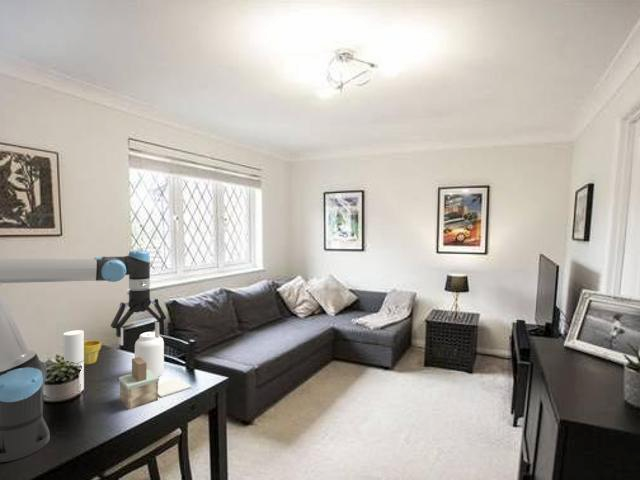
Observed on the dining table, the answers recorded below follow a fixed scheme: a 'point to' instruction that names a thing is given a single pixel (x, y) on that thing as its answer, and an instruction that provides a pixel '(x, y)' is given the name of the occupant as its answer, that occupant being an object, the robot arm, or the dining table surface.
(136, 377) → the lid
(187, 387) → the felt mat
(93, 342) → the plant pot
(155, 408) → the dining table surface
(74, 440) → the dining table surface
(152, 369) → the white jar
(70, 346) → the cylindrical container
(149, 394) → the storage box
